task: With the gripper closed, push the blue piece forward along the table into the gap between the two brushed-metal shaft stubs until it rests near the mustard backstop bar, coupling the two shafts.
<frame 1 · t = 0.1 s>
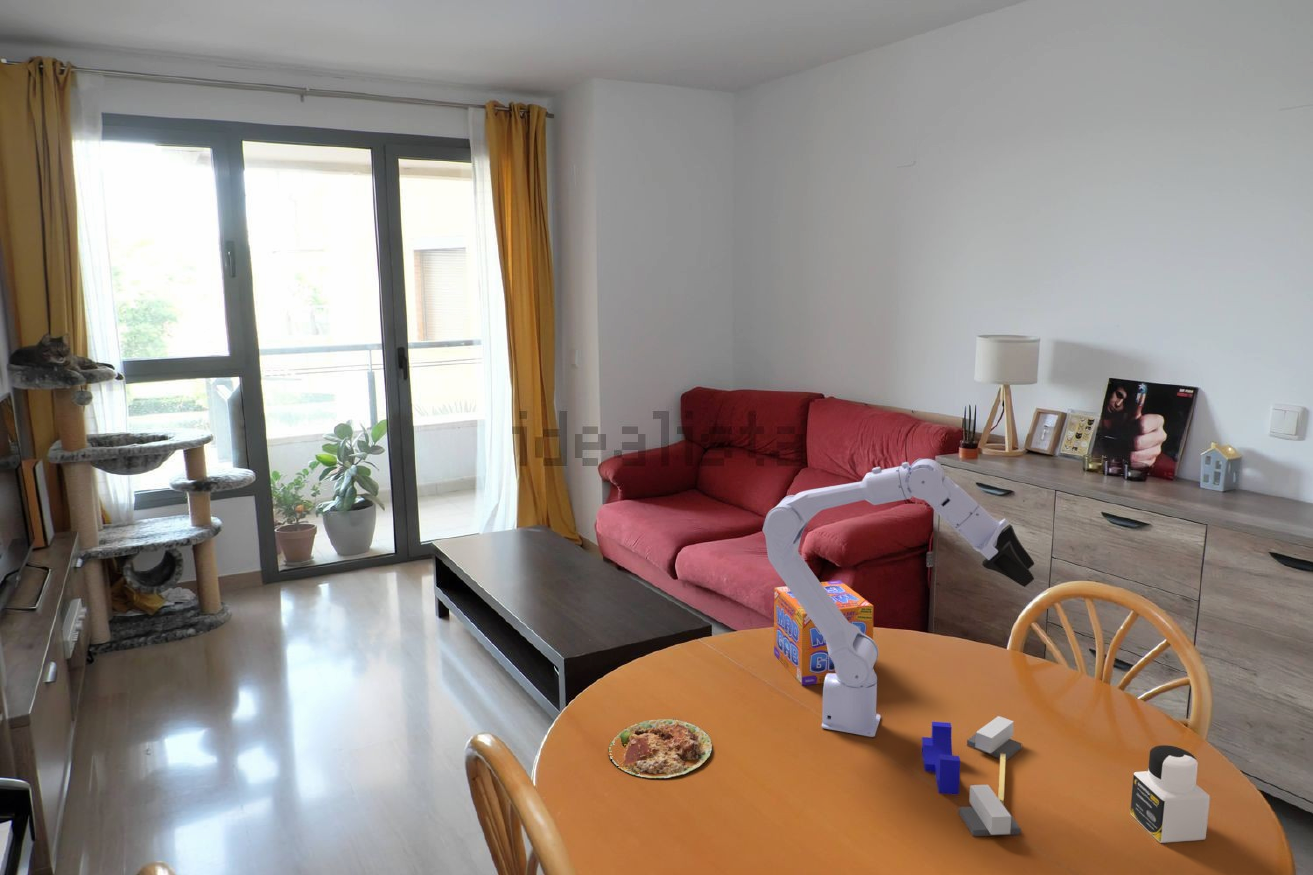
hand: (1029, 574, 143), 32 cm above the table, tool tilted 50°, fingers open, 7 cm apart
game box: (821, 666, 184), on the table
food: (660, 753, 152), on the table
shaft rig: (980, 780, 141), on the table
blue piece: (939, 774, 144), on the table
medicine bottle: (1166, 828, 129), on the table
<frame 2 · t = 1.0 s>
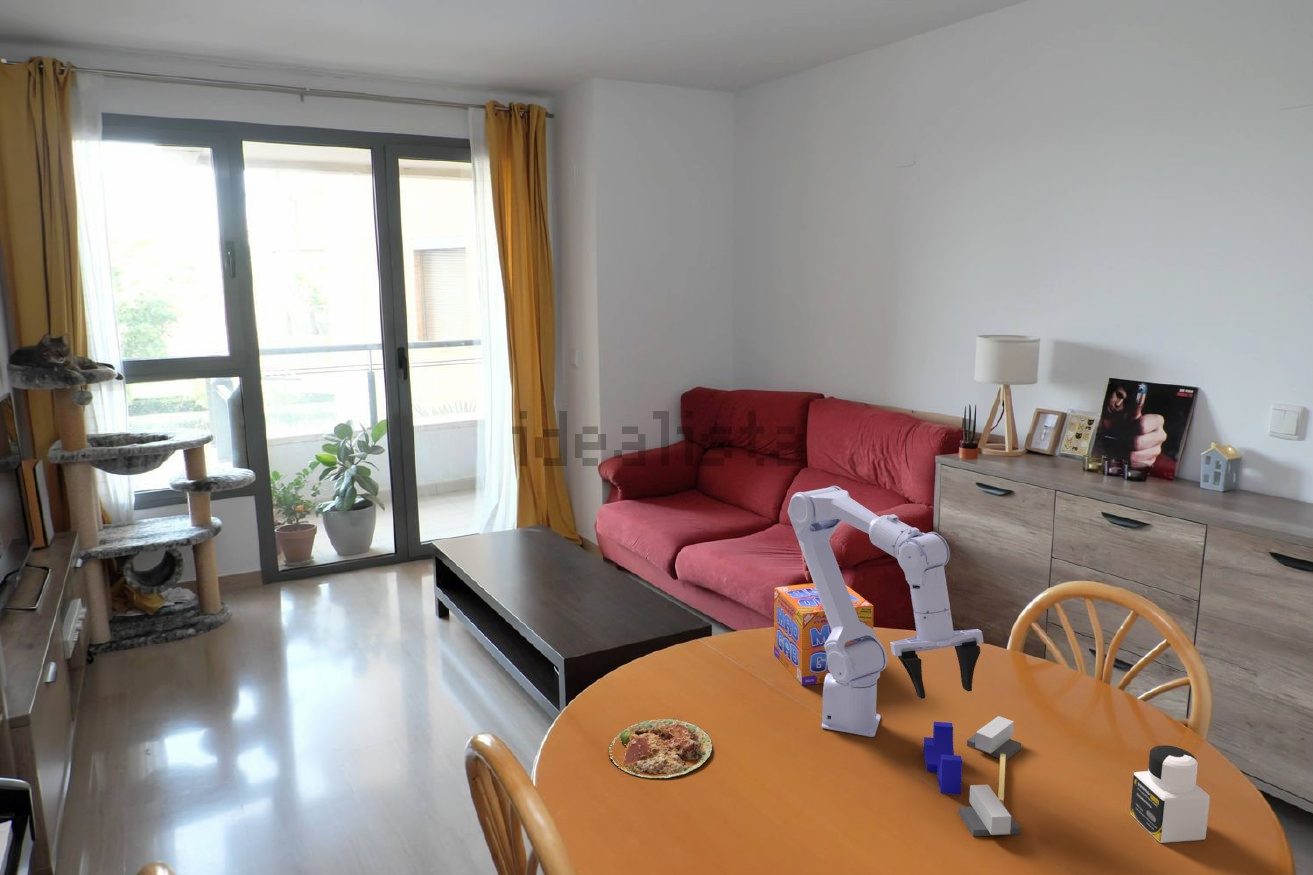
hand: (944, 693, 140), 14 cm above the table, tool pointing down, fingers open, 7 cm apart
nothing on the table moved.
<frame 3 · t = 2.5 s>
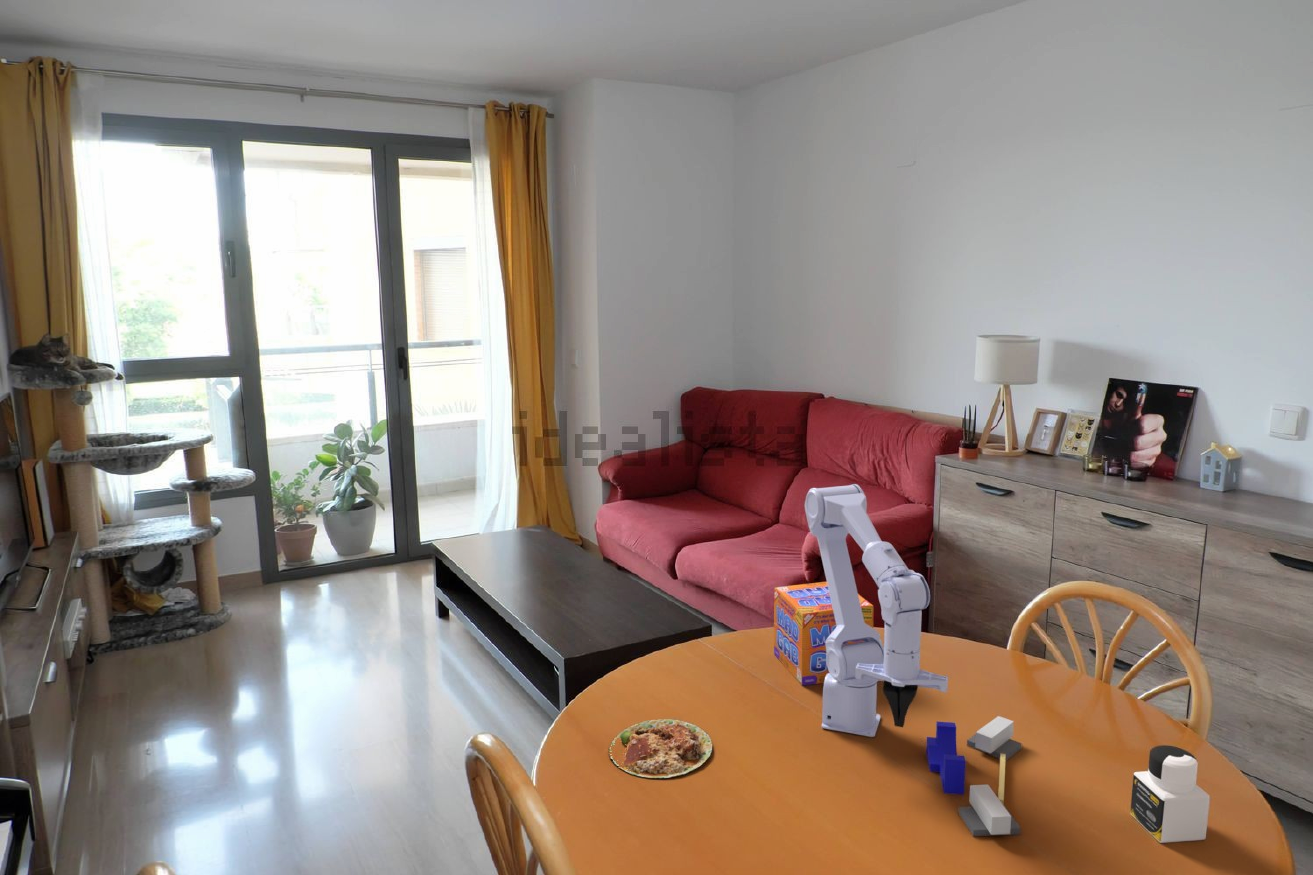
hand: (899, 723, 145), 7 cm above the table, tool pointing down, fingers closed
nothing on the table moved.
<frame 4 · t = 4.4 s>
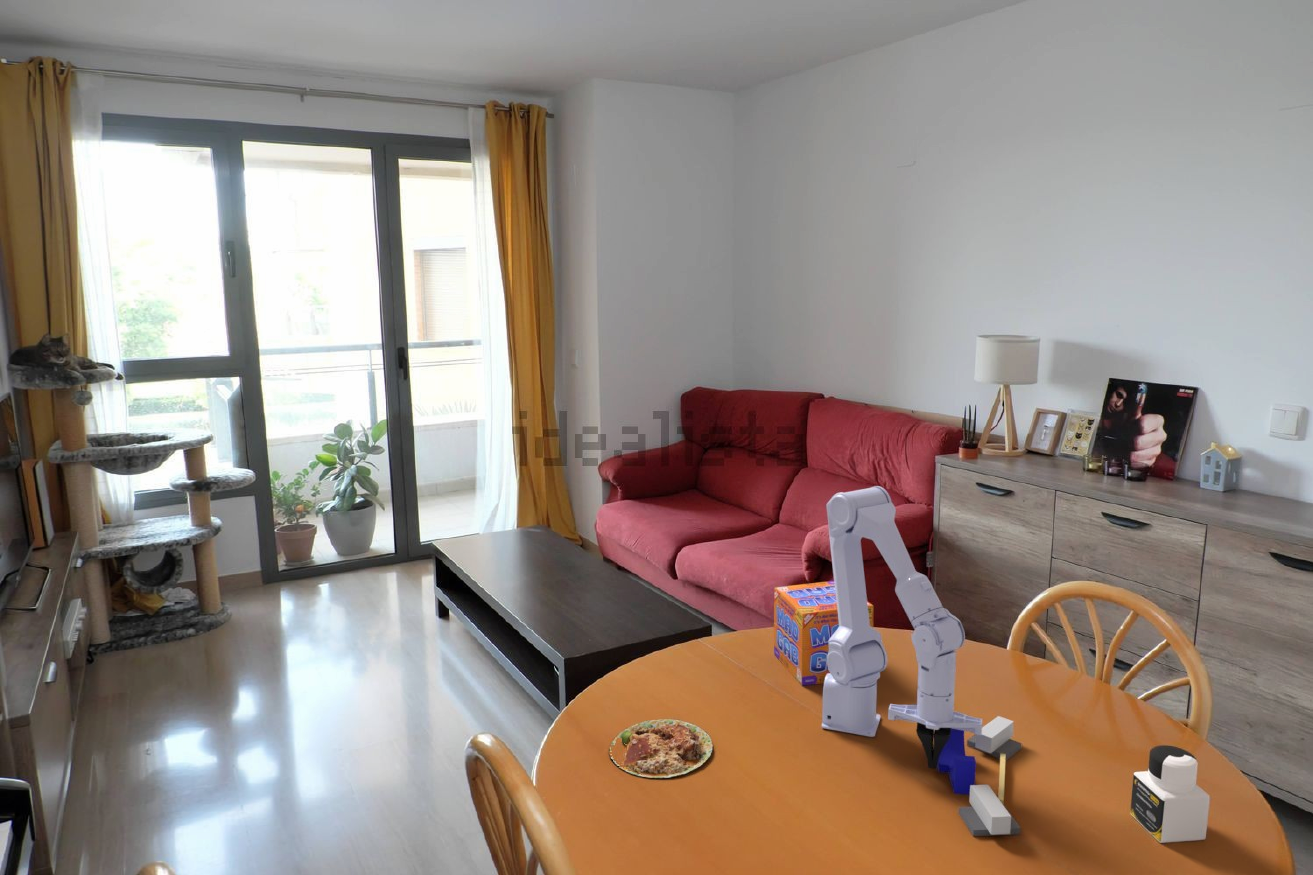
hand: (932, 765, 144), 1 cm above the table, tool pointing down, fingers closed
blue piece: (953, 774, 144), on the table, touching gripper
everything else where it was.
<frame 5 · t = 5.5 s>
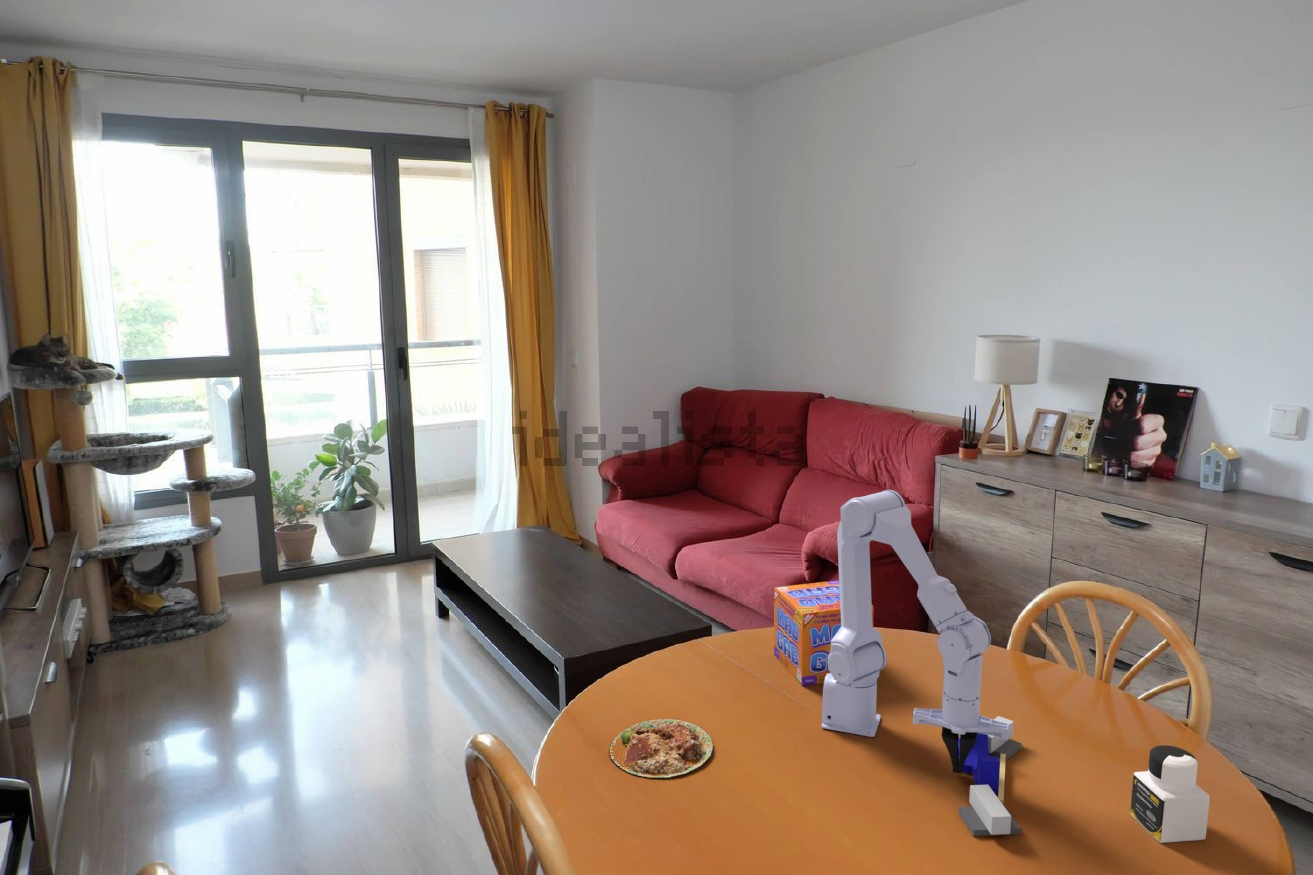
hand: (957, 770, 142), 1 cm above the table, tool pointing down, fingers closed
blue piece: (976, 775, 143), on the table
everything else where it was.
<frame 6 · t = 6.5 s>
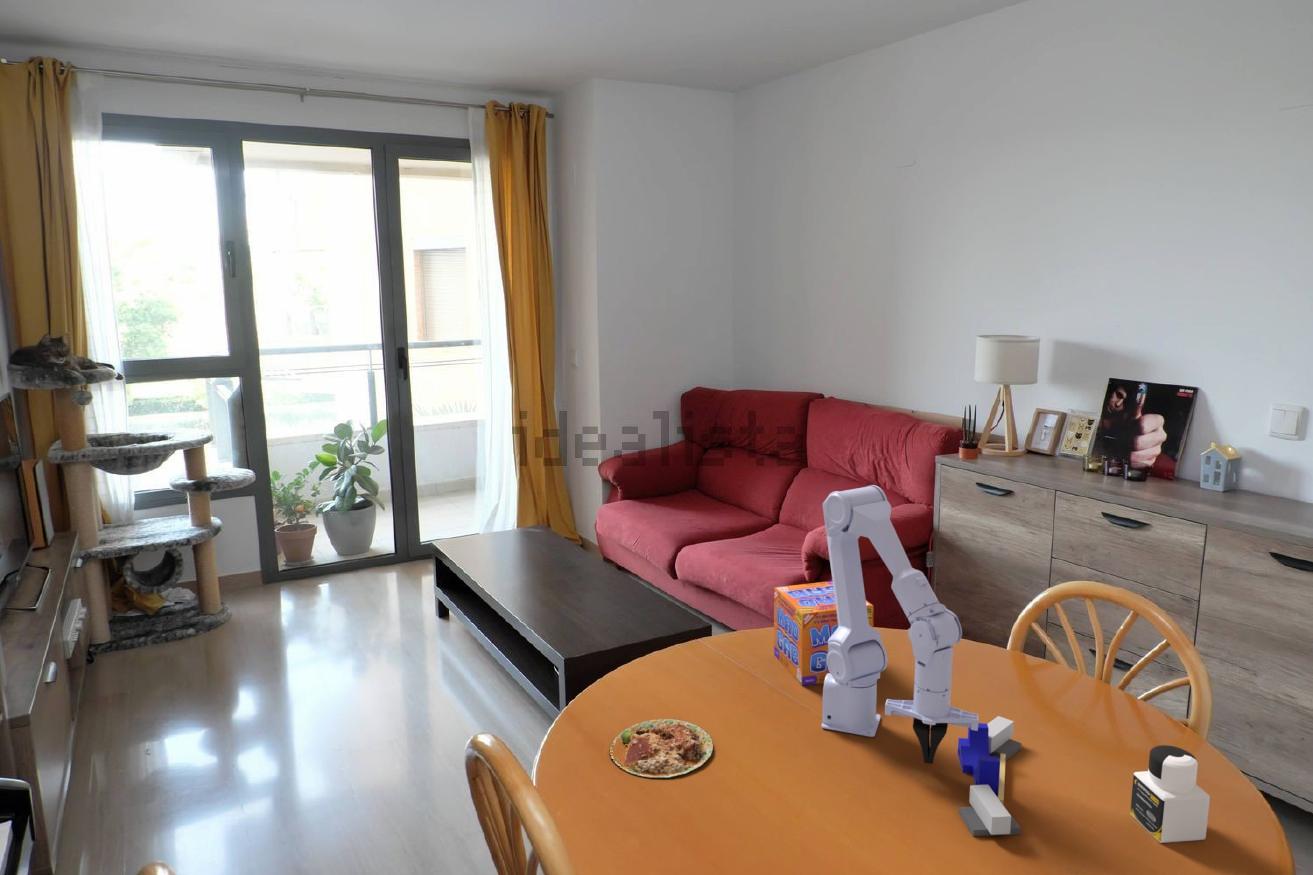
hand: (928, 760, 144), 2 cm above the table, tool pointing down, fingers closed
nothing on the table moved.
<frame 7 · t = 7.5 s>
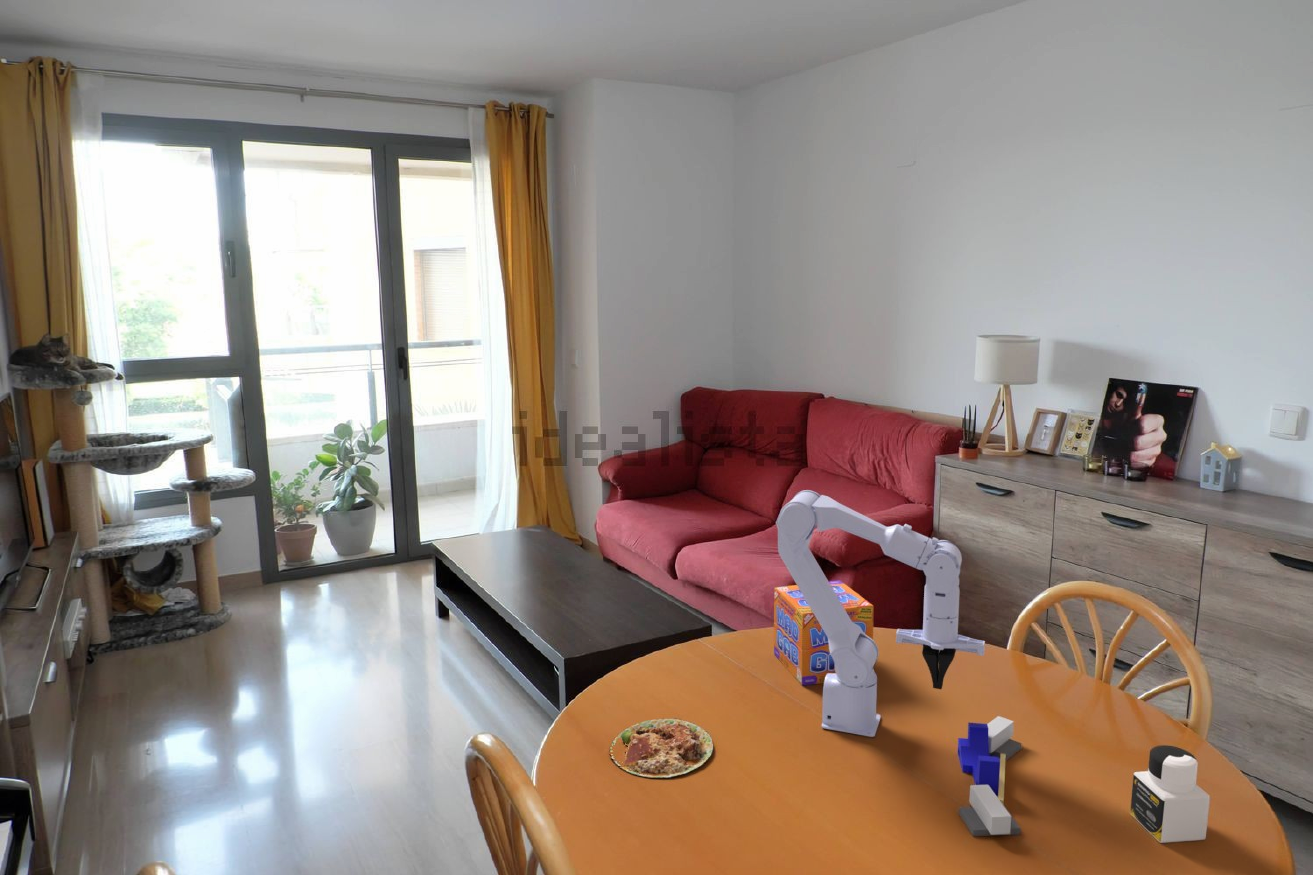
hand: (937, 686, 152), 10 cm above the table, tool pointing down, fingers closed
nothing on the table moved.
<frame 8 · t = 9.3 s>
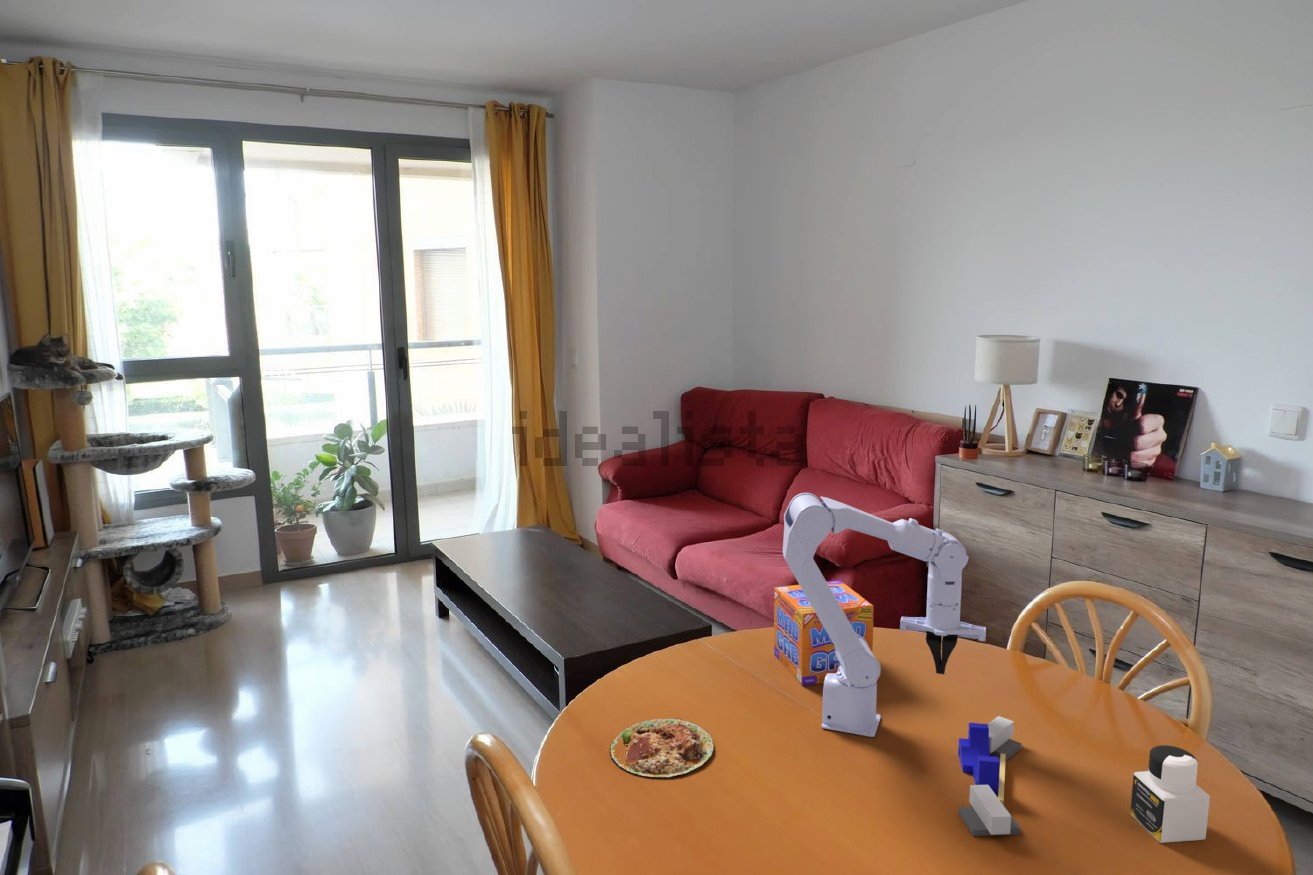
hand: (940, 671, 158), 10 cm above the table, tool pointing down, fingers closed
nothing on the table moved.
at the end: blue piece inside the target area (2.3 cm from its centre), on the table; blue piece moved 6.2 cm from its start; the gripper is holding nothing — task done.
